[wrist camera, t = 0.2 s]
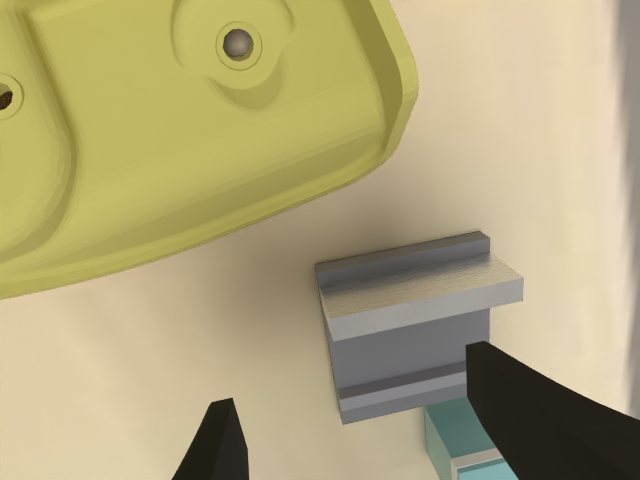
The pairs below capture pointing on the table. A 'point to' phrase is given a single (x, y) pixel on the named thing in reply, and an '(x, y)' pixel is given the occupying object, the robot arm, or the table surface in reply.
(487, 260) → the rail
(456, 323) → the grey stand with lip
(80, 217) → the plastic component
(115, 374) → the table surface
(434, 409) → the block
